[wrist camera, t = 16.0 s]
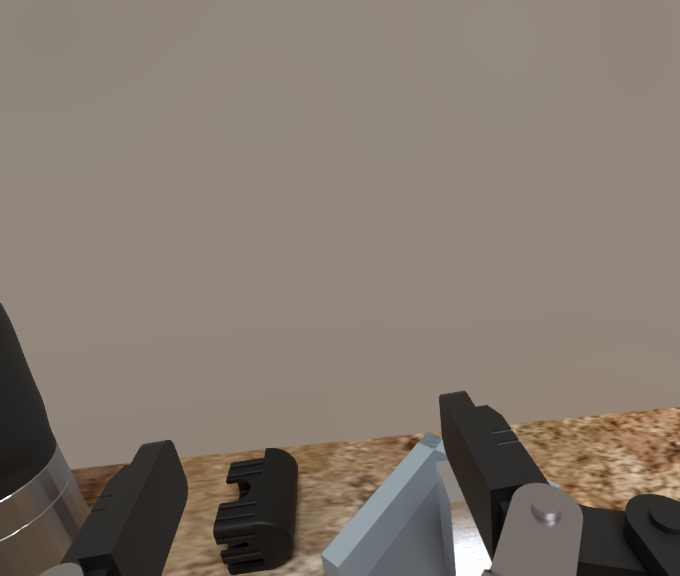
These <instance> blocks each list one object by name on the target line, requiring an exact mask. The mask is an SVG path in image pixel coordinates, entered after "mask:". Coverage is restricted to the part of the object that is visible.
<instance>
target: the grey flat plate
mask: <svg viewBox="0 0 680 576" xmlns="http://www.w3.org/2000/svg"><path fill="white" fill-rule="evenodd" d="M368 576H448V573H447V570H446V566H445V559H444V548H443V537H442V526H441V515H440V504H439V493H438V482H437V483H436V484H435V485H434V487H433V488H432V489H431V491H430V492H429V493H428V495H427V496H426V497H425V499H424V500H423V501H422V503H421V504H420V506H419V507H418V508H417V510H416V511H415V512H414V514H413V515H412V516H411V518H410V519H409V520H408V522H407V523H406V524H405V526H404V527H403V528H402V530H401V531H400V533H399V534H398V535H397V537H396V538H395V539H394V541H393V542H392V543H391V545H390V546H389V547H388V549H387V550H386V551H385V553H384V554H383V555H382V557H381V558H380V559H379V561H378V562H377V564H376V565H375V566H374V568H373V569H372V570H371V572H370V573H369V574H368Z"/></svg>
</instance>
